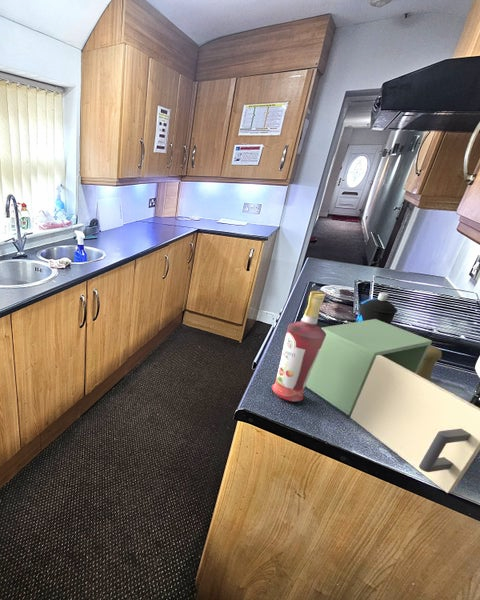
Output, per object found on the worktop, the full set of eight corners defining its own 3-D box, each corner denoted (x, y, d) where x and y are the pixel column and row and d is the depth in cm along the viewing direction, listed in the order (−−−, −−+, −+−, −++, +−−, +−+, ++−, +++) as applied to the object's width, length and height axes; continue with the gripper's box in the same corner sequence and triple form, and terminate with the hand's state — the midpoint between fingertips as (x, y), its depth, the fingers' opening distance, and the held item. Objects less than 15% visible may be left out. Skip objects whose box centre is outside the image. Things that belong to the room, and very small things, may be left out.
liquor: (310, 405, 79) (347, 299, 67) (280, 406, 78) (312, 300, 67) (291, 386, 85) (323, 286, 74) (263, 386, 85) (291, 287, 74)
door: (423, 497, 57) (468, 422, 51) (330, 419, 74) (355, 356, 68) (452, 492, 58) (500, 418, 51) (353, 417, 75) (380, 354, 69)
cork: (433, 390, 85) (452, 355, 80) (404, 386, 87) (422, 350, 82) (420, 377, 90) (437, 342, 86) (393, 372, 92) (408, 339, 88)
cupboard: (403, 400, 81) (432, 340, 75) (348, 415, 76) (374, 352, 69) (353, 373, 92) (375, 318, 85) (302, 384, 86) (321, 327, 80)
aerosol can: (382, 354, 101) (408, 295, 93) (370, 362, 97) (396, 301, 89) (351, 343, 107) (373, 286, 99) (339, 349, 103) (360, 291, 95)
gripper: (604, 354, 42) (527, 458, 49) (551, 316, 53) (495, 406, 60) (515, 336, 46) (456, 435, 53) (483, 304, 57) (438, 389, 64)
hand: (477, 419), depth 57 cm, fingers closed
